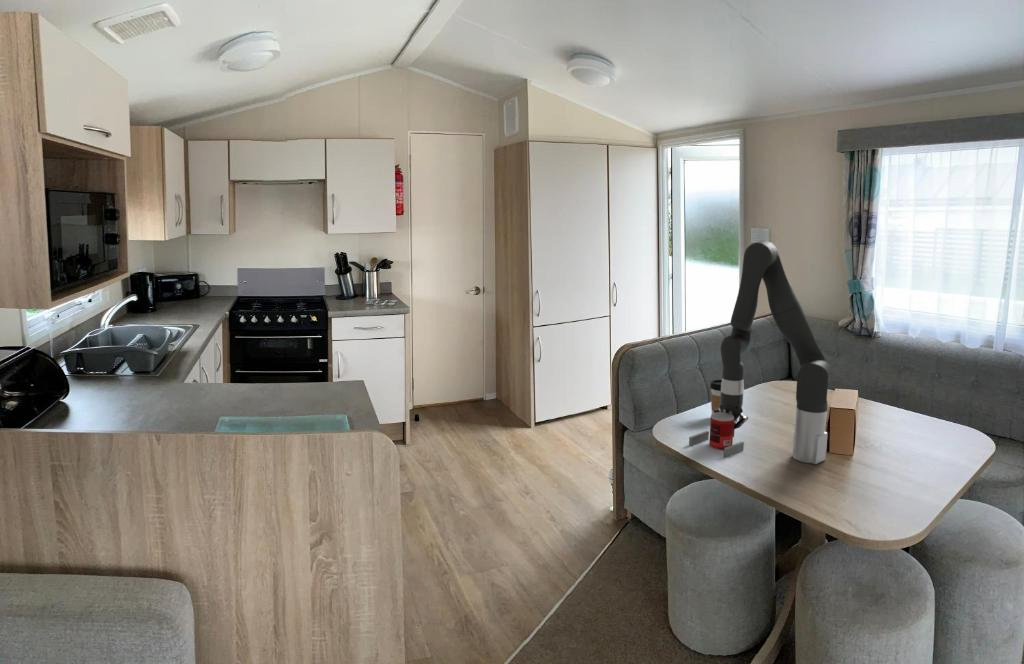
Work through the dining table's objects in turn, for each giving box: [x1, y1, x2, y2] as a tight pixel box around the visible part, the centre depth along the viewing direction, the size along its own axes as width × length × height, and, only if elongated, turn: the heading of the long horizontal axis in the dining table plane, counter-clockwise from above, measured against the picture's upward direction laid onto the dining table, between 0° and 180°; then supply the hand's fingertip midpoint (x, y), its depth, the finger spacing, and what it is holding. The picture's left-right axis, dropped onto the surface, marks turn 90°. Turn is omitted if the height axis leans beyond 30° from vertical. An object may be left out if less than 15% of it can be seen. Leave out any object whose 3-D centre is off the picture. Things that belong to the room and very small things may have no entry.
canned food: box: [708, 412, 734, 451], centre depth 243 cm, size 8×8×11 cm
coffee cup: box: [709, 379, 722, 414], centre depth 270 cm, size 8×8×15 cm
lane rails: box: [688, 430, 745, 459], centre depth 242 cm, size 15×10×3 cm, turn 40°
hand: (729, 438), depth 247 cm, fingers closed
